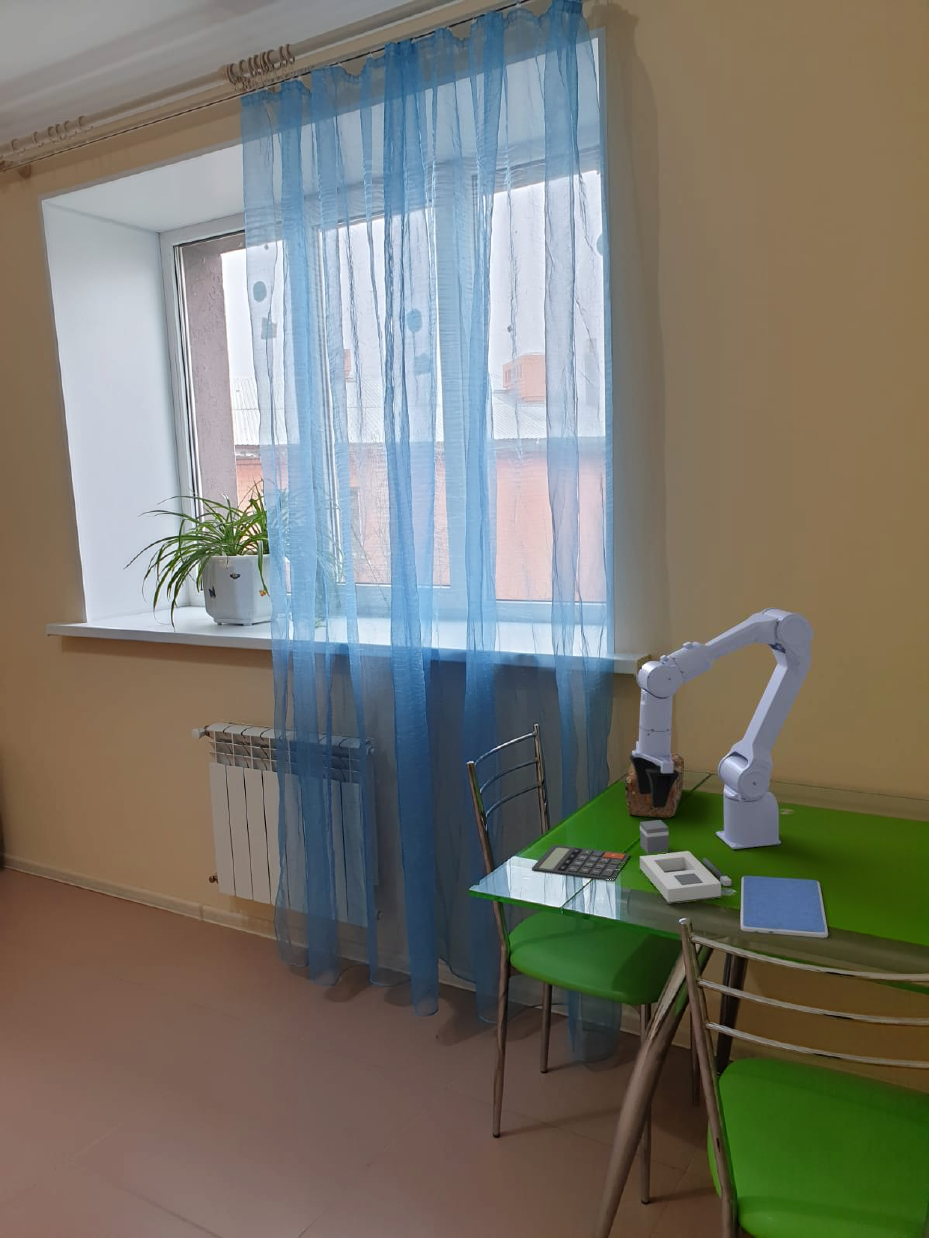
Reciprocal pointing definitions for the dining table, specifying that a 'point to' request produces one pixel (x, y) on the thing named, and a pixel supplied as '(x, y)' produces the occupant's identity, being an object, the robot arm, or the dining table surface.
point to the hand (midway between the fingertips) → (651, 800)
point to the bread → (643, 802)
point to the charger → (654, 836)
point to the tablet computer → (782, 906)
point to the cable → (717, 873)
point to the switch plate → (680, 877)
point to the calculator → (580, 862)
